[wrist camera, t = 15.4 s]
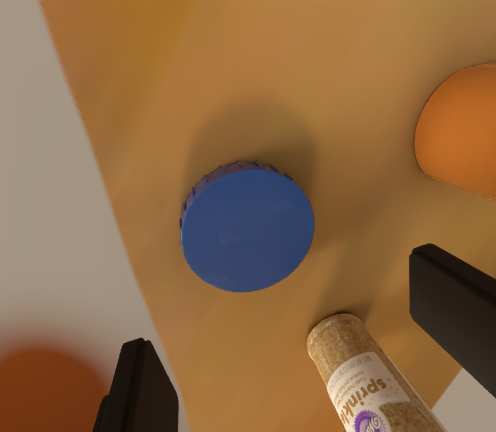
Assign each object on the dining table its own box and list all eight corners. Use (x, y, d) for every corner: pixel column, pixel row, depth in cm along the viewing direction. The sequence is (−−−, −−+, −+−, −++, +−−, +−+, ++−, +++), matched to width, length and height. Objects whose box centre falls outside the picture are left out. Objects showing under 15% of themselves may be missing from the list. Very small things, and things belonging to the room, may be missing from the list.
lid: (196, 144, 14) (198, 151, 12) (320, 177, 16) (335, 186, 14) (168, 266, 16) (167, 285, 14) (280, 282, 18) (289, 299, 16)
